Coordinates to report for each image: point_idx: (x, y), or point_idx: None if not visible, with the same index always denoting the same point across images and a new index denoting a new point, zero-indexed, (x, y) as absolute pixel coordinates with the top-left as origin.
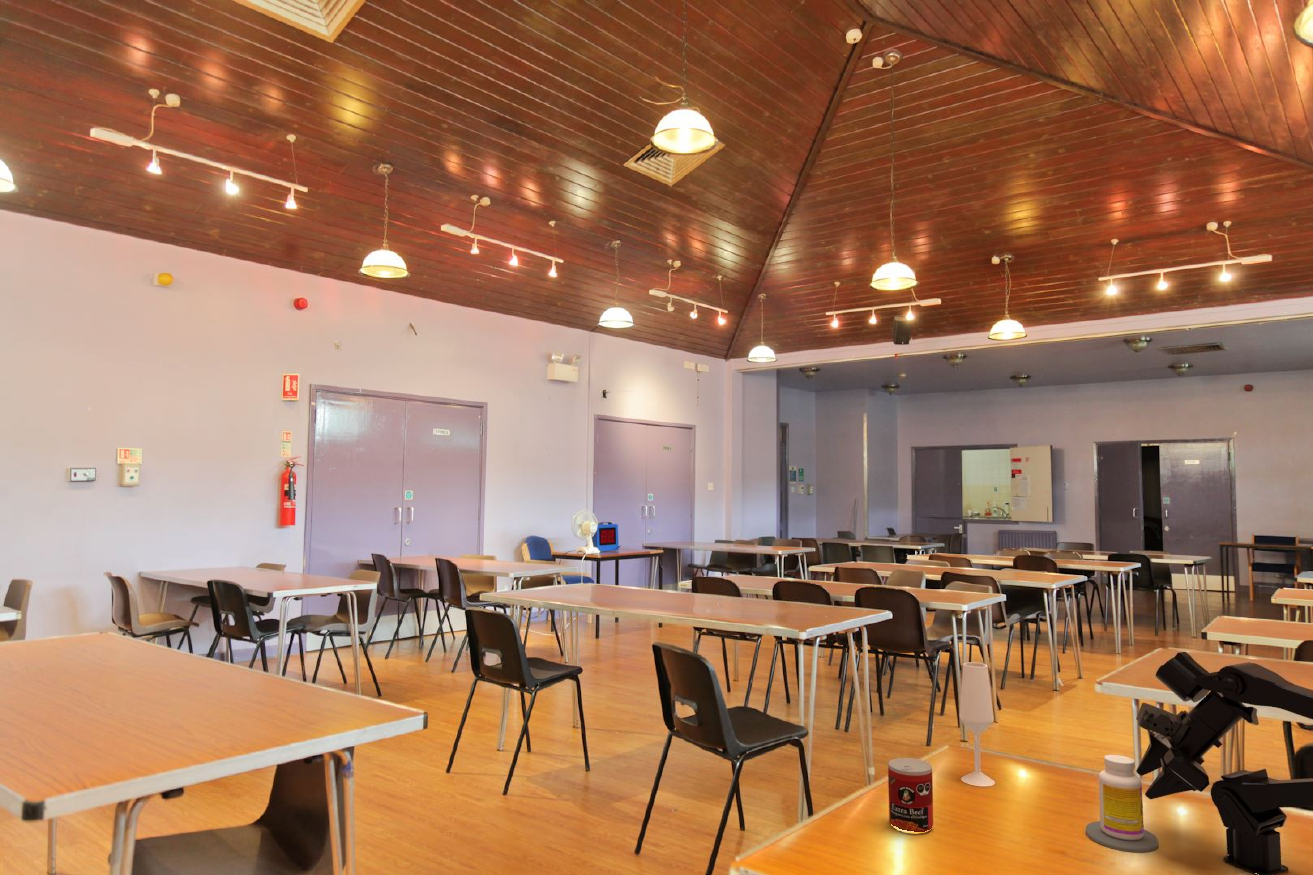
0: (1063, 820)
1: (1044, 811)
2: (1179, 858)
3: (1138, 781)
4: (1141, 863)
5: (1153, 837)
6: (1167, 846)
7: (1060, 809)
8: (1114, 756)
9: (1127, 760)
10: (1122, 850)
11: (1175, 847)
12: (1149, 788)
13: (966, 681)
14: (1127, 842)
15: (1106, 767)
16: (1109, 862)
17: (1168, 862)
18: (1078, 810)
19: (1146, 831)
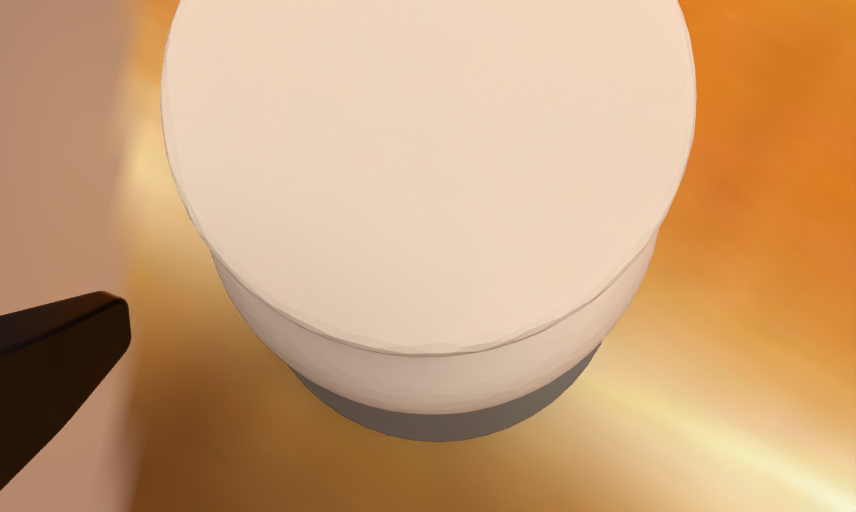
0: None
1: (798, 4)
2: (189, 436)
3: (248, 313)
4: (137, 202)
5: (388, 416)
6: (338, 460)
7: (841, 107)
8: (577, 63)
9: (322, 193)
10: None
11: (325, 499)
12: (23, 324)
13: None
14: None
15: None
16: (152, 52)
17: (144, 348)
18: (837, 206)
19: (475, 423)
